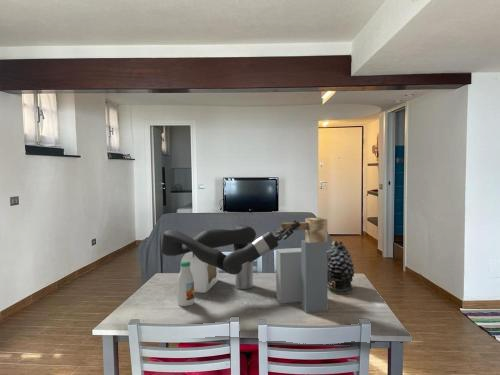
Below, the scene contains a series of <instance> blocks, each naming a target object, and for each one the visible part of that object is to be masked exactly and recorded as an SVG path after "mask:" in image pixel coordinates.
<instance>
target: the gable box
mask: <svg viewBox="0 0 500 375" xmlns="http://www.w3.org/2000/svg"><path fill="white" fill-rule="evenodd" d="M213 249H216V250H218V249H217V248H213ZM183 261H189V262H190V271H191V273H192V275H193V279H194V293H201V294H202V293H203V294H206V293H207V292H208V291H210V289H211V288H212V287H213V286H214V285H216V283H217V282H218V281H219V268H218V267H215V266H212V265H209V264H207V263H204V262H202V261H200V260H199V259H198V258H197V257H196V256H195V255H194V254H193V253H192V252H188V253H184V254H183V256H182V258H181V262H183Z"/></svg>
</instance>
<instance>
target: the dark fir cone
mask: <svg viewBox="0 0 500 375" xmlns="http://www.w3.org/2000/svg"><path fill="white" fill-rule="evenodd" d="M352 260H353V259H352V255H351V253H350V252H349V251H348V249H347V247H346V246H345V245H344V244H343V242H342V241H339V242H338V241H337V240H333V241H332V242H331V247H330V248H329V249H328V250H327V285H328V290H329V291H330V292H332V293H333V294H338V295H339V294H340V295H343V294H349V293H351V292H352V290H353V287H352V282H353V278H354V277H355V275H354V274H355V271H354V269H355V267H354V265H355V264H354V262H353V261H352Z"/></svg>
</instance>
